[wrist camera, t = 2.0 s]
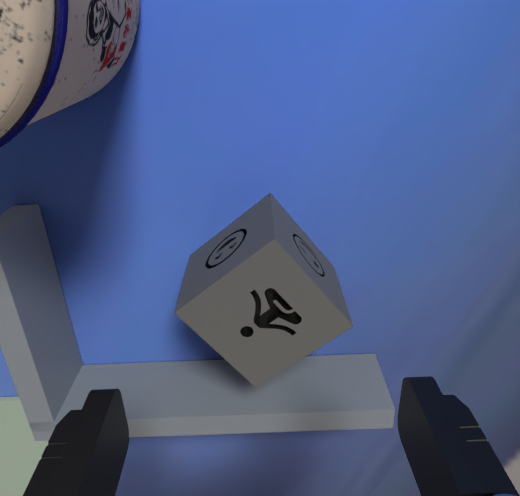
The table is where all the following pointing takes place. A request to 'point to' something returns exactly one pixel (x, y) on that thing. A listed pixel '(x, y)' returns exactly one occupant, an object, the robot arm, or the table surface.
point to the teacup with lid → (58, 54)
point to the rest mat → (16, 448)
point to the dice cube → (262, 293)
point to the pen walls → (161, 366)
